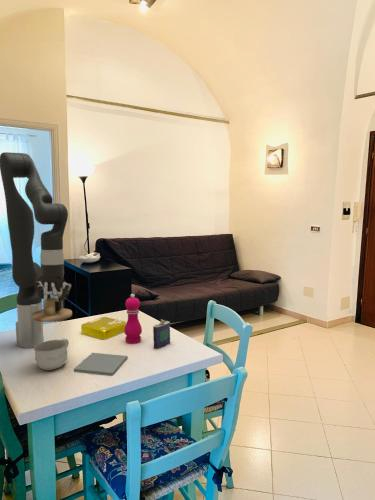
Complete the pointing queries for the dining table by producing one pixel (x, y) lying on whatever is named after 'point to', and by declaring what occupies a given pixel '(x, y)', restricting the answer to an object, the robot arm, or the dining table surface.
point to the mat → (101, 364)
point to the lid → (51, 312)
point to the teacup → (51, 354)
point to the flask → (161, 334)
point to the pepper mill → (132, 321)
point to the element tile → (103, 328)
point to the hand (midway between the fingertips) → (53, 310)
